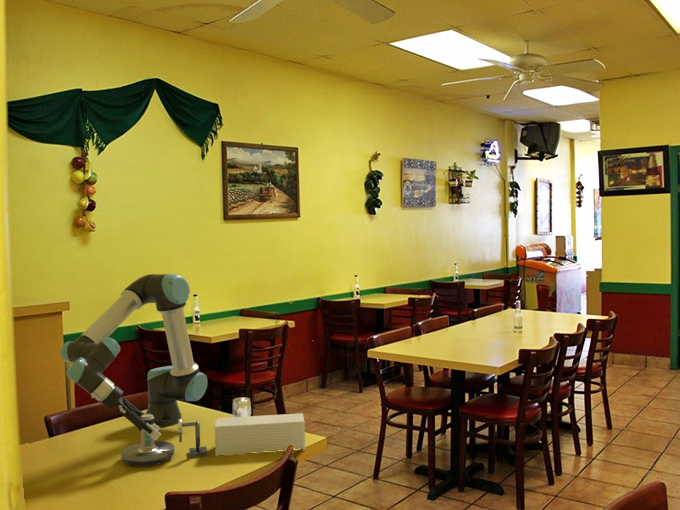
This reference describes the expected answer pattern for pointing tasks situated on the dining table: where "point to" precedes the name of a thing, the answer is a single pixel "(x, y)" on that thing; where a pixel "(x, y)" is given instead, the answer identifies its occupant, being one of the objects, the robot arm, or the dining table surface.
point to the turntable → (147, 453)
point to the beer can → (145, 439)
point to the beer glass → (241, 407)
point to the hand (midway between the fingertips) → (158, 434)
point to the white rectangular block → (259, 433)
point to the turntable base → (148, 464)
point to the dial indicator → (198, 450)
